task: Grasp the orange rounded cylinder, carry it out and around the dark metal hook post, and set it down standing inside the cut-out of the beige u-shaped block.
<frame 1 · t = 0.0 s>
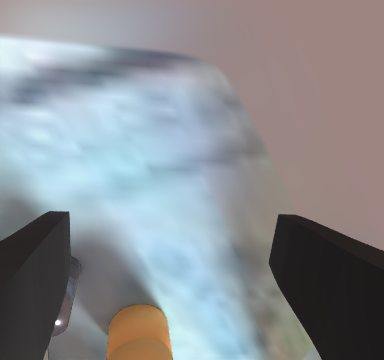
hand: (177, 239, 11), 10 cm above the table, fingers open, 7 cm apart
hook post: (66, 267, 22), on the table
orange rounded cylinder: (138, 327, 25), on the table
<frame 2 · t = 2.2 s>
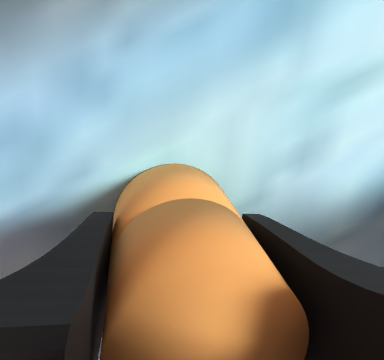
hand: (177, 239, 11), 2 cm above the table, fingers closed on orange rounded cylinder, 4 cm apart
orange rounded cylinder: (172, 217, 13), on the table, touching gripper
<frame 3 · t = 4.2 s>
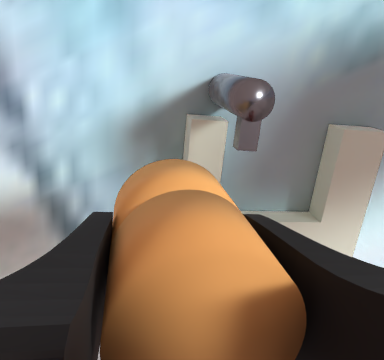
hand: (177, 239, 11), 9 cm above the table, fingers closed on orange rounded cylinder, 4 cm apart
hook post: (224, 89, 19), on the table
orange rounded cylinder: (171, 213, 13), point 7 cm above the table, touching gripper
beige u-shaped block: (271, 190, 22), on the table
when the fingers open (3 cm above the table, at t = 6.2 s): orange rounded cylinder drops 1 cm, on the table.
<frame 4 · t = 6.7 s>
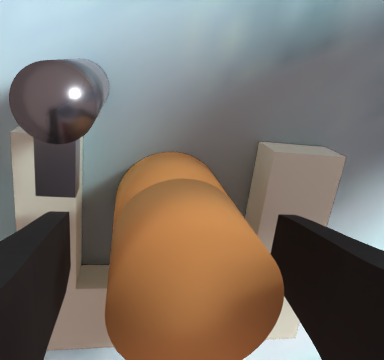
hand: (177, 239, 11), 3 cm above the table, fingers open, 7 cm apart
hook post: (83, 85, 12), on the table
orange rounded cylinder: (168, 202, 14), on the table
beige u-shaped block: (176, 235, 15), on the table
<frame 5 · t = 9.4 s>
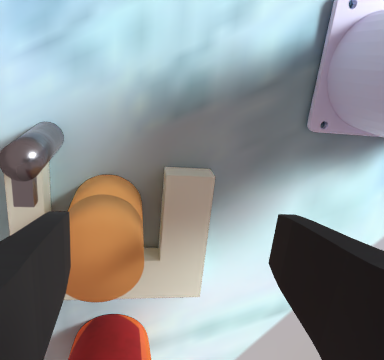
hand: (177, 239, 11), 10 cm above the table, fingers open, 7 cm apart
hook post: (47, 137, 20), on the table
orange rounded cylinder: (108, 206, 22), on the table
paper cup: (112, 340, 26), on the table
beige u-shaped block: (115, 228, 22), on the table
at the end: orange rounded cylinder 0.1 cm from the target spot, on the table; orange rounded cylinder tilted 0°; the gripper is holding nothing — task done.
